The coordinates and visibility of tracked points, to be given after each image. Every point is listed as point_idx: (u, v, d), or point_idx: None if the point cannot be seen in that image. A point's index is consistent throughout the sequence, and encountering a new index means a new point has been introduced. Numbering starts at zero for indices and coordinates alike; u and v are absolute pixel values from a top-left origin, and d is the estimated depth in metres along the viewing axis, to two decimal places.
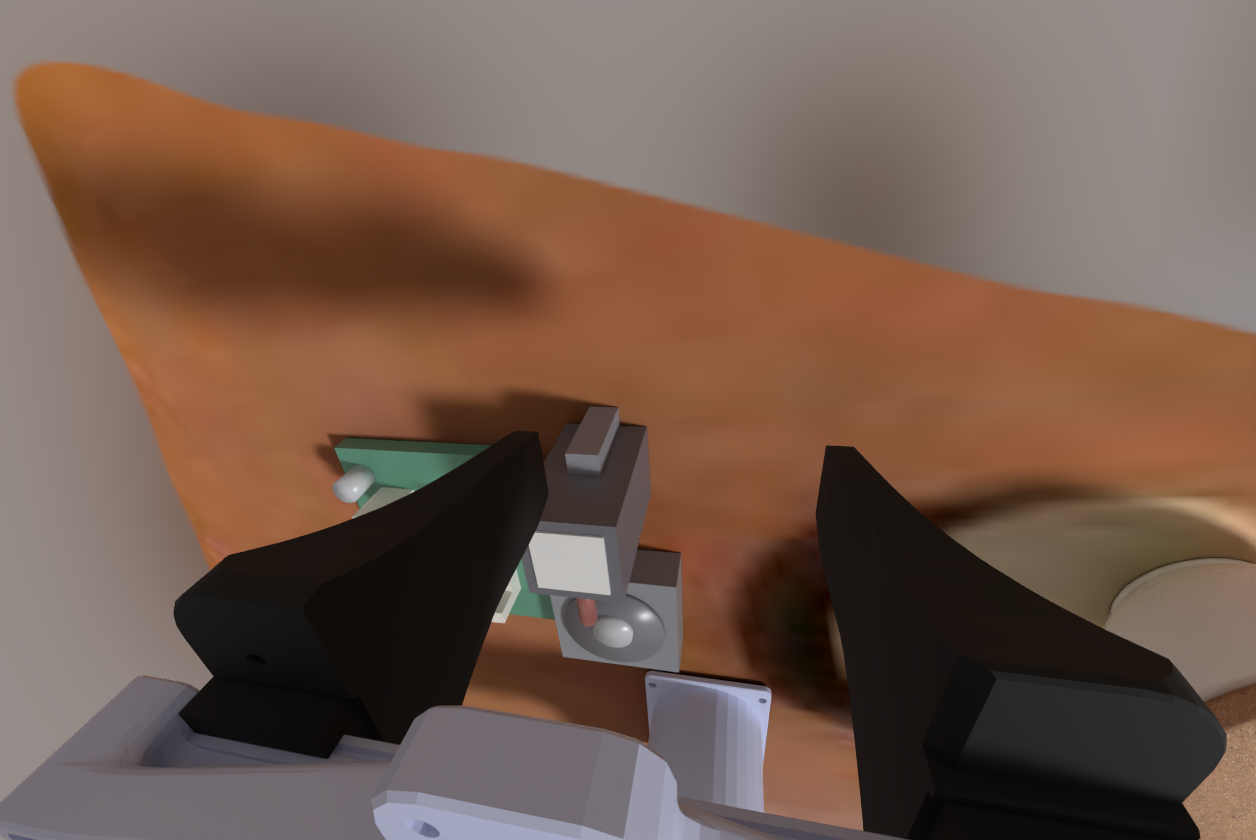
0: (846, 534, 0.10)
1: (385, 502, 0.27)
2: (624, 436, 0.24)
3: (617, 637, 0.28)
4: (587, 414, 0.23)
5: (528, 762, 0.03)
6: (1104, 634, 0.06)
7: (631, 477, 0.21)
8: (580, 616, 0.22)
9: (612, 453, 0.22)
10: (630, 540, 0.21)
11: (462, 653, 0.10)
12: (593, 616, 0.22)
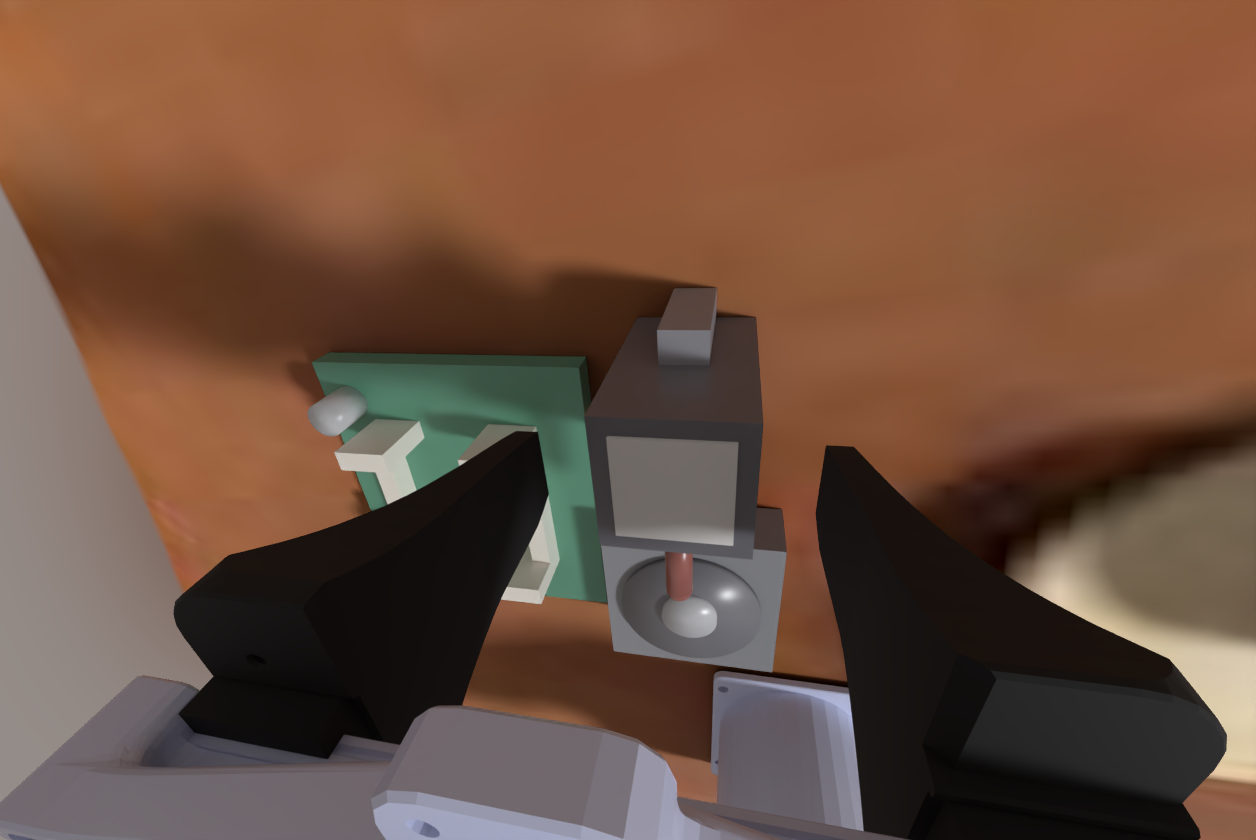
0: (846, 534, 0.10)
1: (381, 435, 0.20)
2: (727, 326, 0.16)
3: (695, 623, 0.20)
4: (674, 294, 0.16)
5: (528, 762, 0.03)
6: (1104, 634, 0.06)
7: (758, 367, 0.14)
8: (669, 584, 0.15)
9: (718, 343, 0.15)
10: None
11: (462, 653, 0.10)
12: (689, 585, 0.15)
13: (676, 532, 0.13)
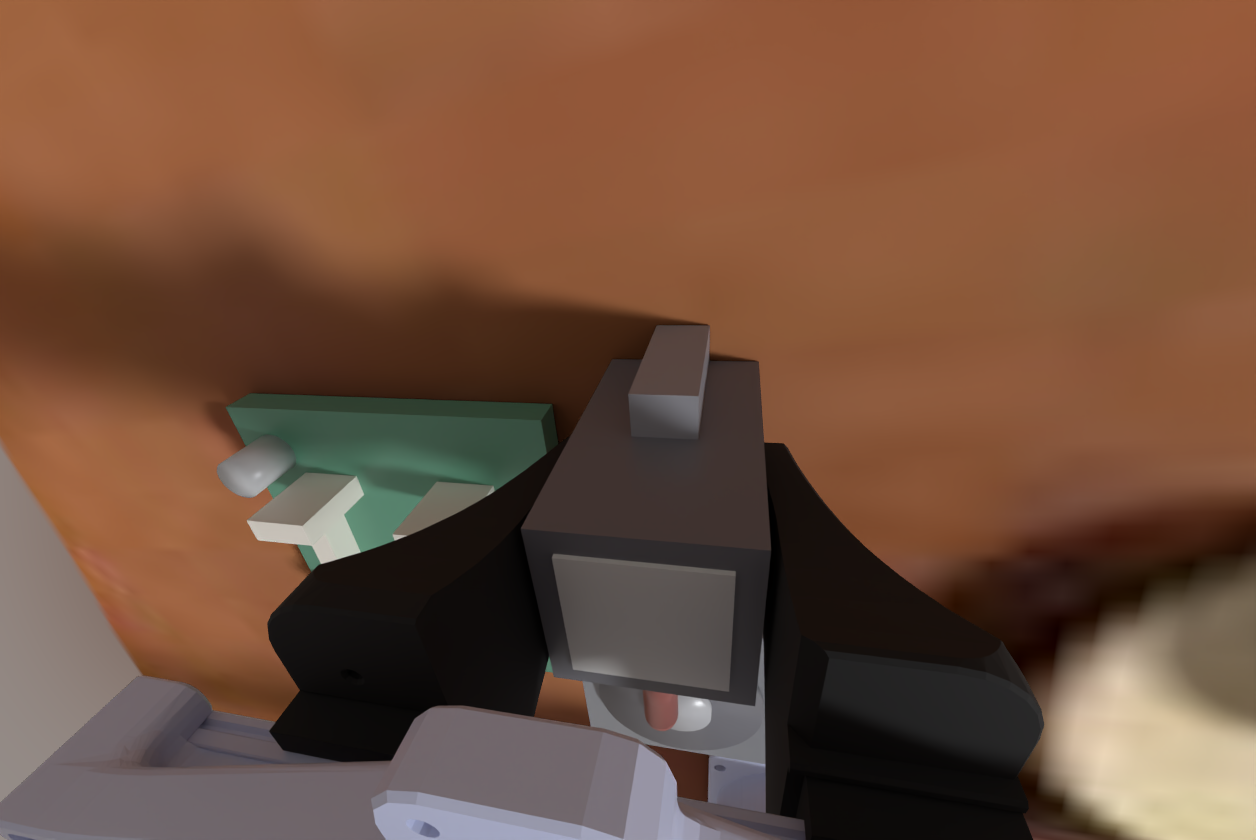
0: None
1: (307, 496, 0.16)
2: (723, 375, 0.13)
3: (686, 717, 0.17)
4: (656, 335, 0.13)
5: (528, 762, 0.03)
6: (952, 618, 0.06)
7: (763, 443, 0.10)
8: (647, 712, 0.12)
9: (710, 402, 0.12)
10: None
11: (534, 663, 0.10)
12: (673, 714, 0.12)
13: (652, 671, 0.10)
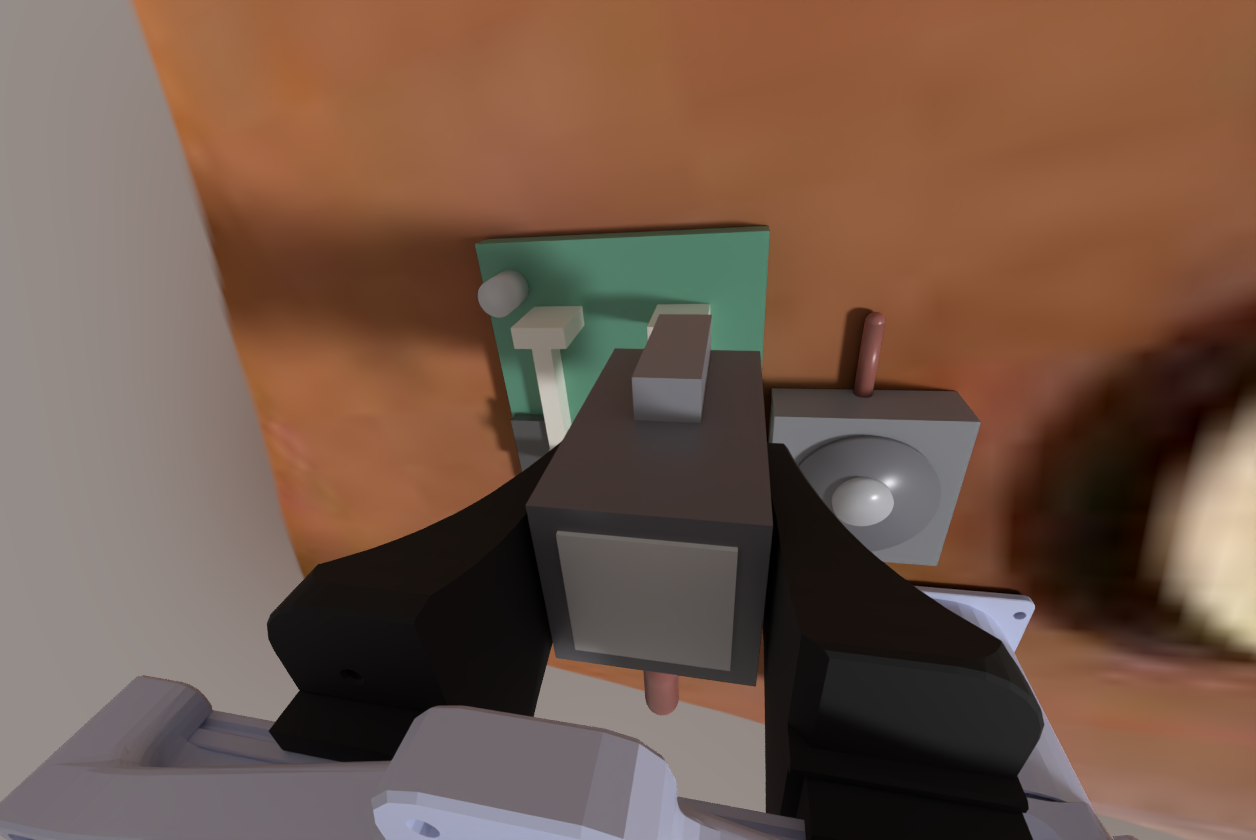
0: None
1: (550, 316, 0.19)
2: (725, 364, 0.13)
3: (869, 509, 0.20)
4: (658, 323, 0.13)
5: (527, 762, 0.03)
6: (953, 618, 0.06)
7: (764, 427, 0.10)
8: (648, 696, 0.12)
9: (712, 388, 0.12)
10: None
11: (534, 663, 0.10)
12: (674, 698, 0.12)
13: (654, 650, 0.10)
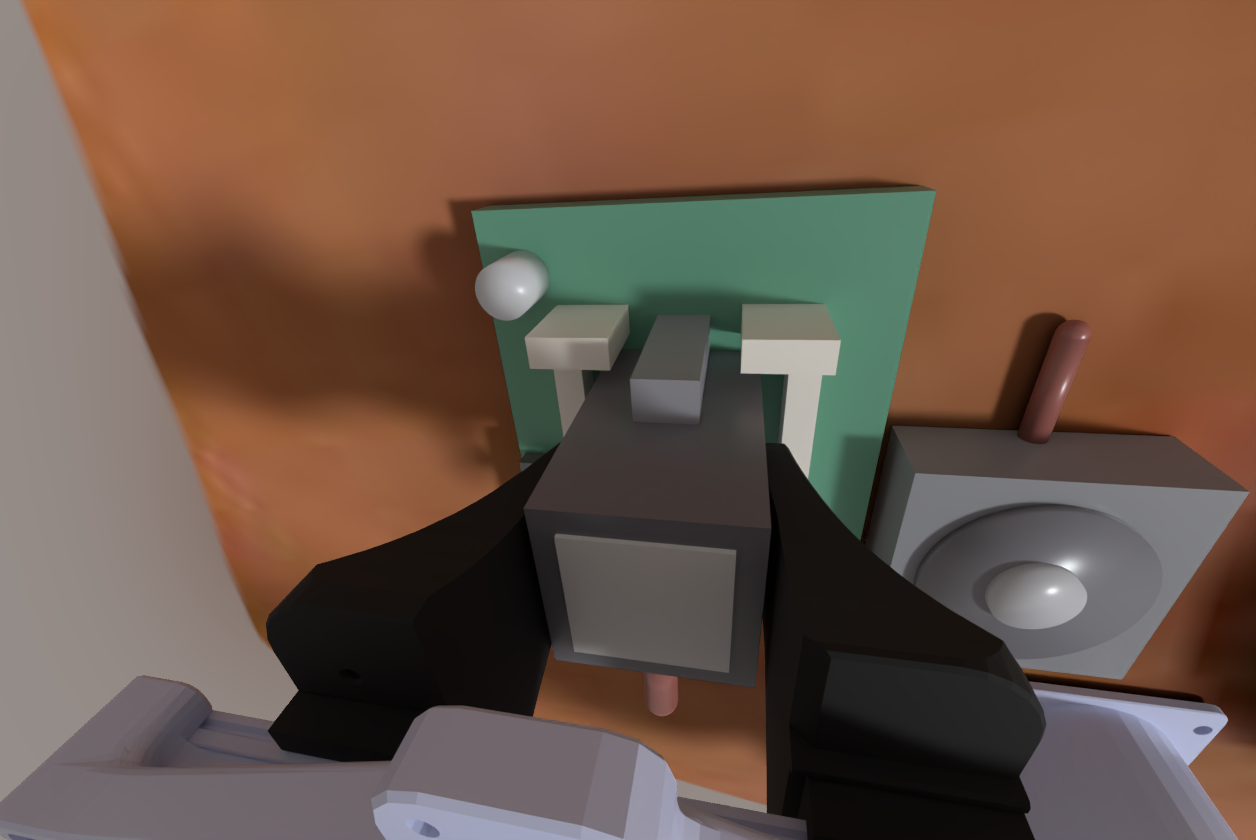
0: None
1: (583, 319, 0.13)
2: (723, 364, 0.13)
3: (1045, 607, 0.14)
4: (657, 324, 0.13)
5: (528, 762, 0.03)
6: (954, 618, 0.06)
7: (763, 428, 0.10)
8: (647, 697, 0.12)
9: (711, 389, 0.12)
10: None
11: (533, 663, 0.10)
12: (673, 698, 0.12)
13: (653, 652, 0.10)
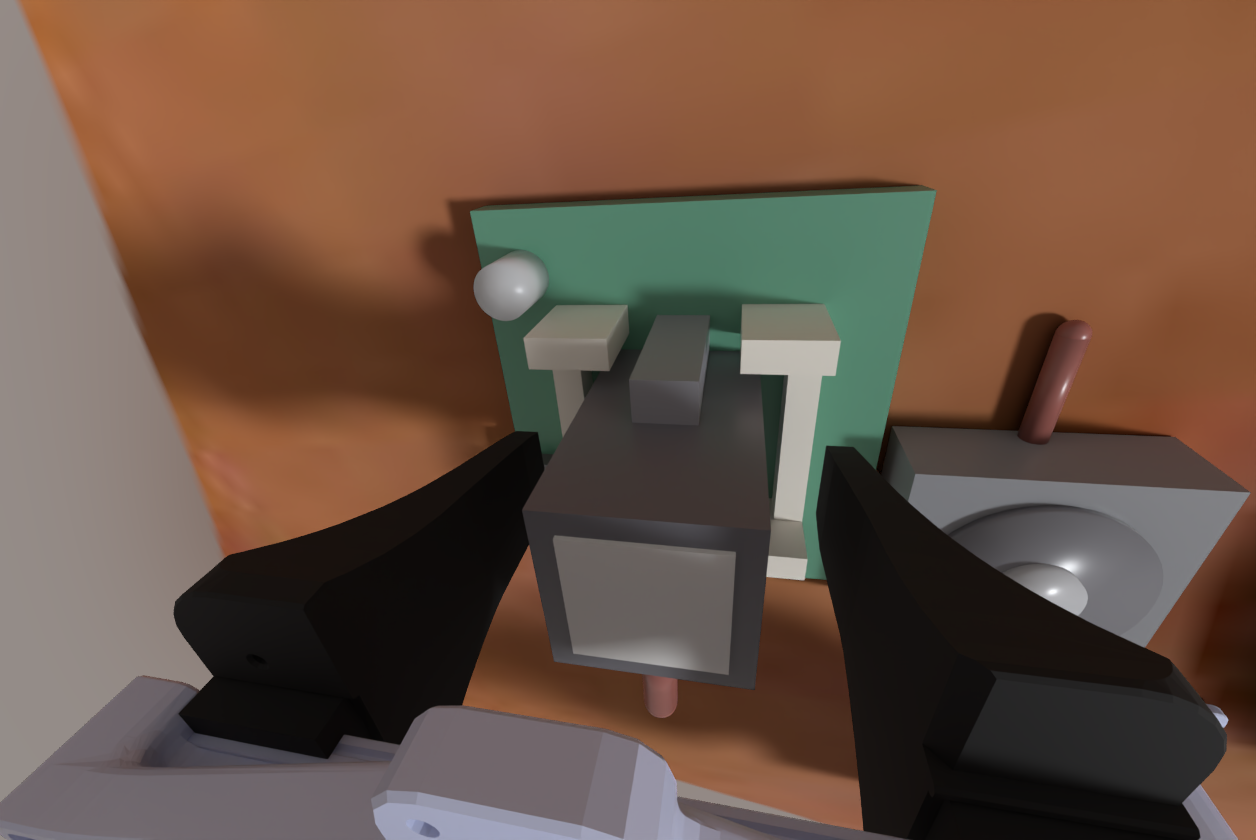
0: (846, 534, 0.10)
1: (582, 319, 0.13)
2: (723, 365, 0.13)
3: None
4: (656, 324, 0.13)
5: (528, 762, 0.03)
6: (1103, 634, 0.06)
7: (763, 429, 0.10)
8: (647, 699, 0.12)
9: (710, 390, 0.12)
10: None
11: (462, 653, 0.10)
12: (673, 700, 0.12)
13: (652, 654, 0.10)
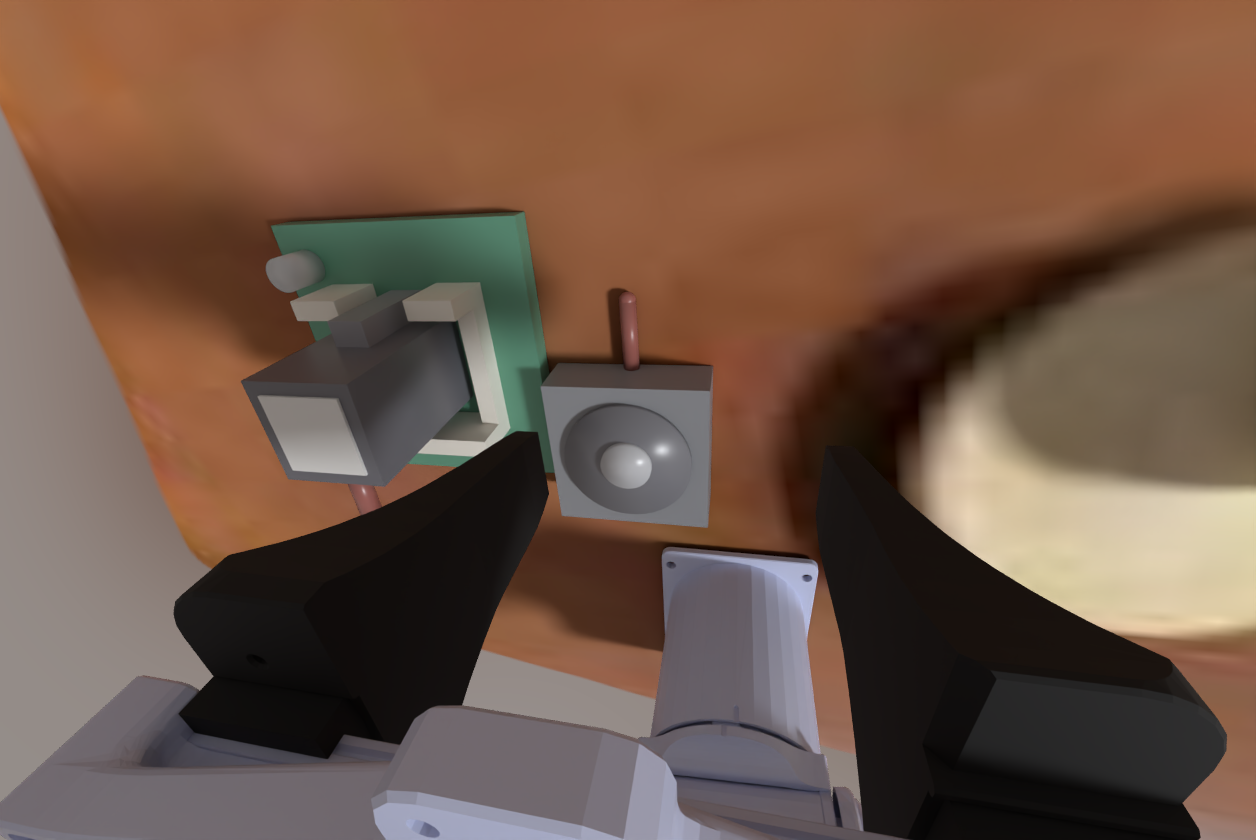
0: (846, 534, 0.10)
1: (335, 292, 0.21)
2: None
3: (631, 472, 0.22)
4: (382, 295, 0.21)
5: (527, 762, 0.03)
6: (1104, 634, 0.06)
7: (402, 349, 0.19)
8: None
9: (398, 332, 0.20)
10: (403, 421, 0.19)
11: (462, 653, 0.10)
12: None
13: (328, 466, 0.18)
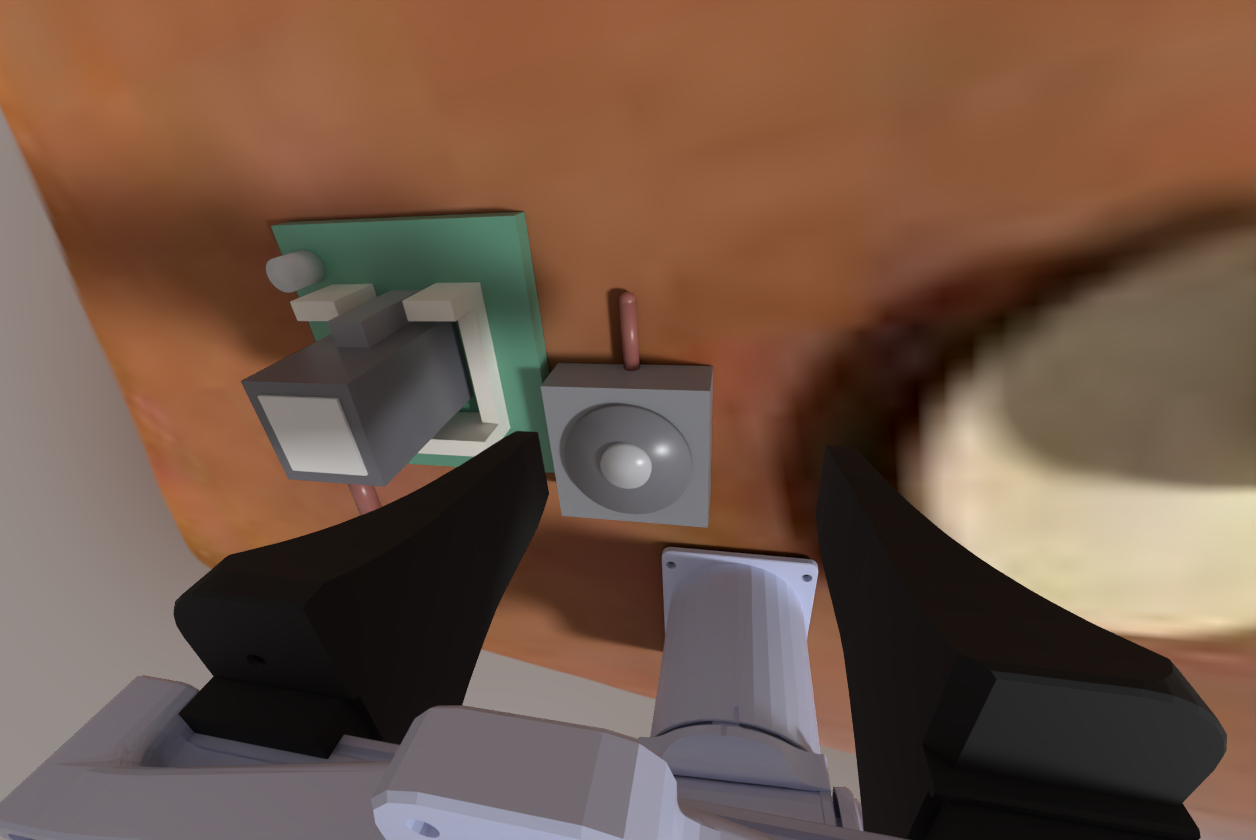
0: (846, 534, 0.10)
1: (335, 292, 0.21)
2: None
3: (631, 472, 0.22)
4: (382, 295, 0.21)
5: (527, 762, 0.03)
6: (1104, 634, 0.06)
7: (402, 349, 0.19)
8: None
9: (398, 332, 0.20)
10: (403, 421, 0.19)
11: (462, 653, 0.10)
12: None
13: (328, 466, 0.18)
